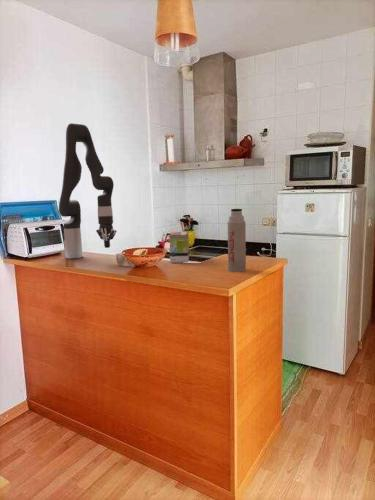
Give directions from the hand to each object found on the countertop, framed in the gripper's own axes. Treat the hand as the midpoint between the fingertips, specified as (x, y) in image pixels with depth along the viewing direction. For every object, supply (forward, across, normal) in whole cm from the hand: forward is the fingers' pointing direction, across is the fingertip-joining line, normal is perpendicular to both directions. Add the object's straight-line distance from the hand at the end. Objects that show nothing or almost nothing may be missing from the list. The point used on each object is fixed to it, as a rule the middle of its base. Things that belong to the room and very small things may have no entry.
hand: (107, 247), depth 198 cm
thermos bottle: (+8, +70, +11) cm, 71 cm away
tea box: (+8, +32, +21) cm, 39 cm away
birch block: (+5, +9, -1) cm, 11 cm away
